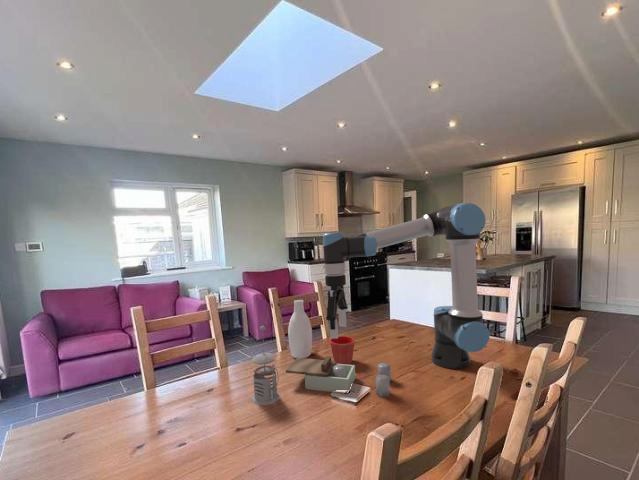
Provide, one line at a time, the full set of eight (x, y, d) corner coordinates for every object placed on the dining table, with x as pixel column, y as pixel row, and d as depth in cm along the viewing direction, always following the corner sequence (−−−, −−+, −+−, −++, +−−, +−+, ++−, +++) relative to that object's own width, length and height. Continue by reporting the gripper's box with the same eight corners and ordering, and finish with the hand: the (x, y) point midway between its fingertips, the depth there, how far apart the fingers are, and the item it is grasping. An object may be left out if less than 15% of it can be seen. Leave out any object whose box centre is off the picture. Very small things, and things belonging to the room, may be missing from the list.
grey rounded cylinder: (390, 391, 109) (389, 375, 109) (389, 397, 105) (388, 381, 105) (377, 389, 111) (376, 374, 111) (375, 396, 106) (374, 380, 106)
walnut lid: (335, 362, 123) (335, 354, 123) (327, 376, 111) (327, 367, 111) (297, 359, 127) (297, 351, 127) (285, 372, 116) (285, 363, 116)
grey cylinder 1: (347, 380, 117) (347, 365, 117) (343, 386, 113) (342, 371, 113) (335, 378, 119) (335, 364, 119) (331, 384, 115) (331, 369, 115)
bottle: (317, 352, 148) (315, 299, 148) (304, 361, 139) (301, 304, 138) (298, 349, 154) (296, 297, 154) (284, 357, 145) (281, 302, 144)
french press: (269, 387, 116) (266, 320, 116) (289, 398, 108) (285, 326, 107) (246, 398, 109) (242, 326, 109) (265, 410, 101) (261, 333, 100)
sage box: (355, 378, 120) (354, 365, 120) (348, 393, 109) (348, 379, 109) (315, 374, 125) (315, 361, 125) (305, 388, 114) (304, 375, 114)
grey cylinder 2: (391, 378, 119) (390, 363, 119) (390, 383, 115) (389, 368, 115) (379, 377, 121) (378, 362, 120) (377, 382, 116) (377, 367, 116)
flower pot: (355, 356, 141) (354, 335, 141) (355, 367, 130) (354, 344, 130) (331, 357, 142) (330, 335, 142) (330, 367, 131) (329, 344, 131)
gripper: (333, 270, 128) (337, 321, 129) (314, 280, 105) (318, 343, 105) (352, 269, 126) (355, 322, 127) (336, 279, 102) (340, 344, 103)
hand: (338, 332), depth 116 cm, fingers open, 13 cm apart
